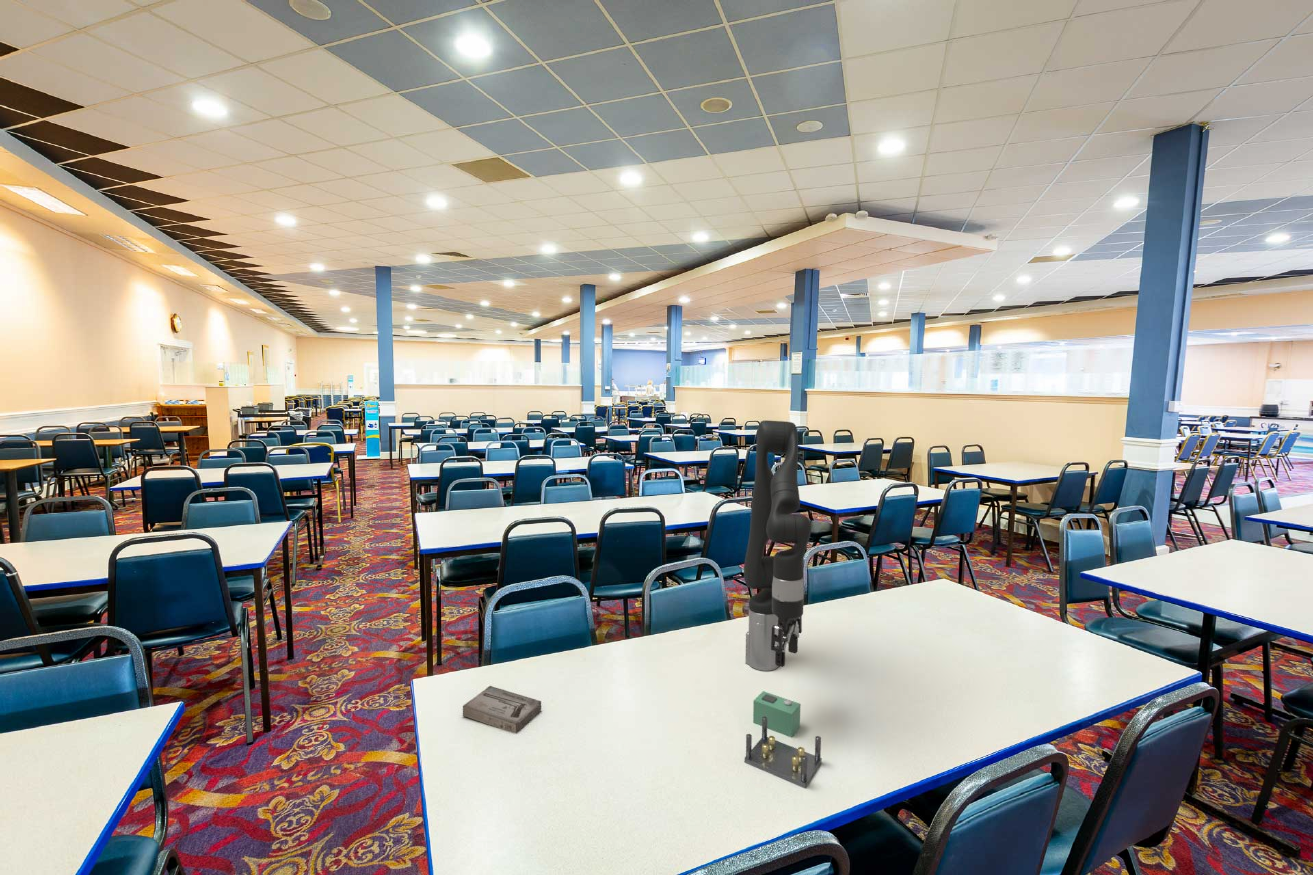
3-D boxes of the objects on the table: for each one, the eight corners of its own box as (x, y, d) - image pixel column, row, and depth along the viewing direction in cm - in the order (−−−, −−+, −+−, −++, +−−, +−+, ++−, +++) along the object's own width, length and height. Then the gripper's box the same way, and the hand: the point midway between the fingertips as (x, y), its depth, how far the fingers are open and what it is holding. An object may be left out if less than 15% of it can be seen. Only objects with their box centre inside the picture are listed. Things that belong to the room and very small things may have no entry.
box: (489, 695, 150) (489, 684, 149) (542, 711, 143) (542, 699, 143) (461, 717, 140) (460, 705, 140) (516, 735, 133) (516, 723, 133)
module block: (753, 723, 138) (753, 697, 137) (762, 713, 142) (763, 688, 142) (791, 737, 132) (791, 711, 131) (799, 726, 136) (800, 701, 136)
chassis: (744, 762, 123) (744, 736, 122) (763, 739, 131) (763, 715, 130) (805, 787, 115) (805, 760, 114) (821, 762, 123) (822, 736, 122)
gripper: (783, 583, 143) (782, 644, 144) (761, 600, 131) (760, 666, 132) (812, 589, 139) (811, 651, 140) (791, 606, 127) (790, 674, 128)
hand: (786, 658), depth 136 cm, fingers open, 8 cm apart
